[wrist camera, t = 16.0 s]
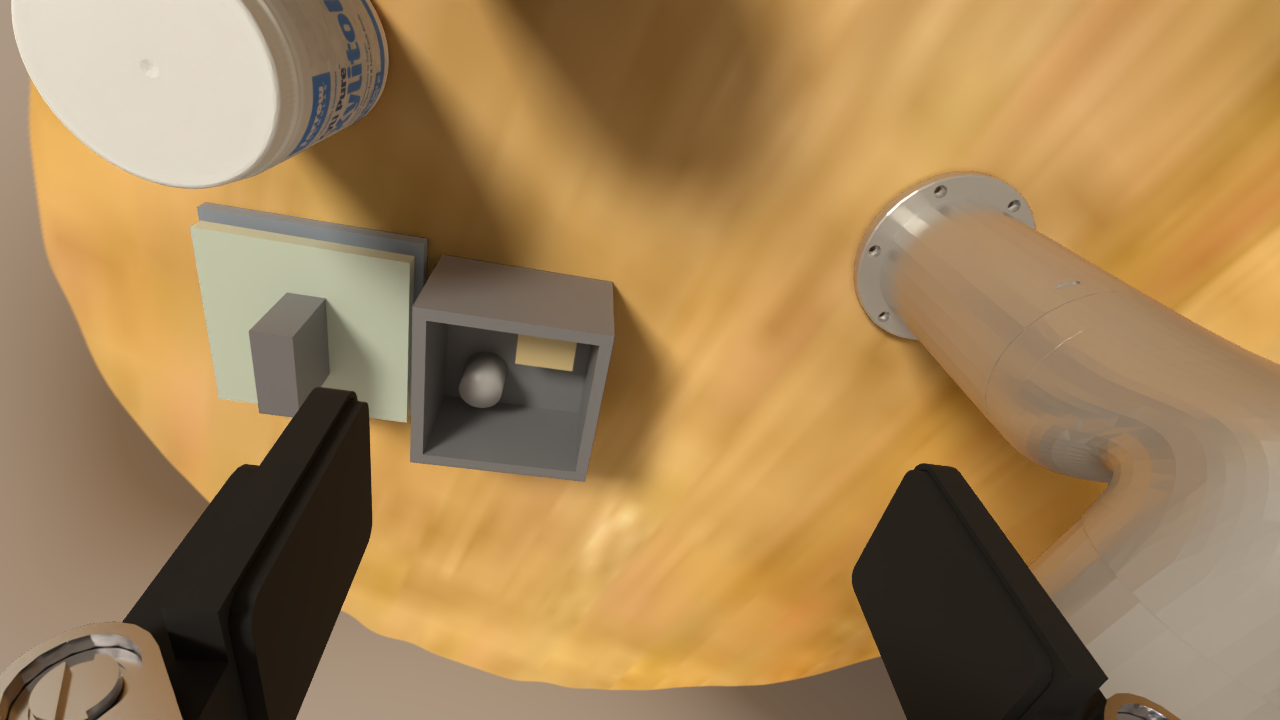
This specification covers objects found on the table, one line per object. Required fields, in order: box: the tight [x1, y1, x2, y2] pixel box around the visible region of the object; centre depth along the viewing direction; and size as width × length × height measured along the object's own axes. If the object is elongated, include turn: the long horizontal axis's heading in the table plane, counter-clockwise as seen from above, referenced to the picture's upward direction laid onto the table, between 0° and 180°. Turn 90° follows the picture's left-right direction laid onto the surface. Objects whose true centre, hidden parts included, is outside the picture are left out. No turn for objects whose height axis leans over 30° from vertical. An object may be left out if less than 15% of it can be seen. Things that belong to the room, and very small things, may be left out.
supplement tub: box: [11, 0, 389, 189], centre depth 30 cm, size 10×10×15 cm
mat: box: [197, 202, 428, 305], centre depth 45 cm, size 14×14×1 cm
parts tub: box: [410, 255, 615, 482], centre depth 44 cm, size 12×12×8 cm
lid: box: [190, 221, 415, 423], centre depth 41 cm, size 13×13×7 cm
